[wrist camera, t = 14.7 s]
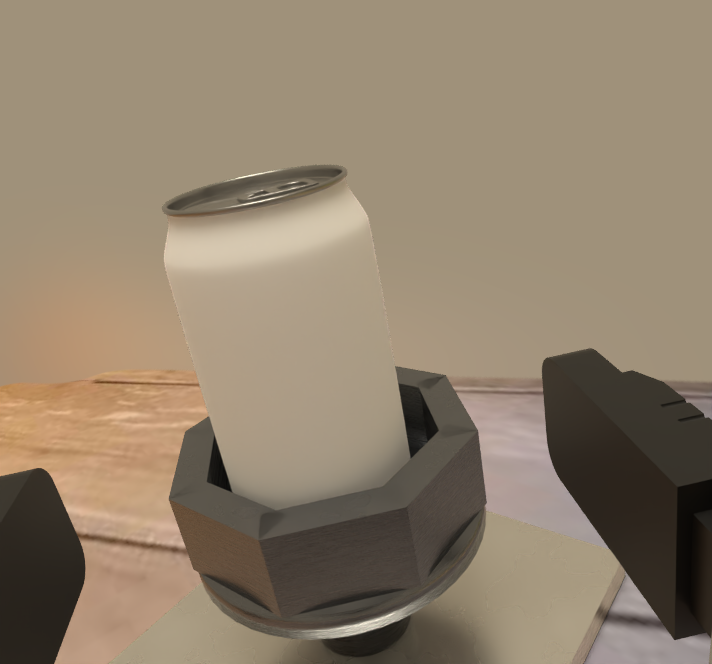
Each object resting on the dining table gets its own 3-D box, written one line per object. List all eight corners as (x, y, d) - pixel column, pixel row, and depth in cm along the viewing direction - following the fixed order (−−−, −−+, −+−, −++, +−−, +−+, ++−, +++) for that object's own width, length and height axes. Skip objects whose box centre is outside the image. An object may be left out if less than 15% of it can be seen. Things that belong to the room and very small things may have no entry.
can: (229, 493, 26) (139, 198, 21) (375, 438, 28) (321, 156, 23) (269, 600, 20) (157, 229, 15) (449, 522, 22) (396, 170, 17)
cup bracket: (341, 480, 37) (305, 321, 34) (625, 576, 27) (621, 365, 24) (100, 698, 26) (5, 499, 23) (428, 988, 17) (360, 722, 13)
